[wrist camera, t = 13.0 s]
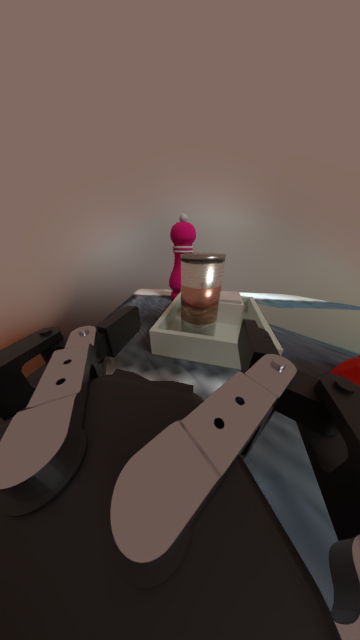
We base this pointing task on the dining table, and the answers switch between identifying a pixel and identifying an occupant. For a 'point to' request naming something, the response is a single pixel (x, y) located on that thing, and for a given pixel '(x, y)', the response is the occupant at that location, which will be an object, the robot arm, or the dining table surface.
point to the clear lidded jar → (200, 291)
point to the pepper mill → (180, 250)
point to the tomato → (349, 370)
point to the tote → (204, 337)
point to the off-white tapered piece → (230, 308)
